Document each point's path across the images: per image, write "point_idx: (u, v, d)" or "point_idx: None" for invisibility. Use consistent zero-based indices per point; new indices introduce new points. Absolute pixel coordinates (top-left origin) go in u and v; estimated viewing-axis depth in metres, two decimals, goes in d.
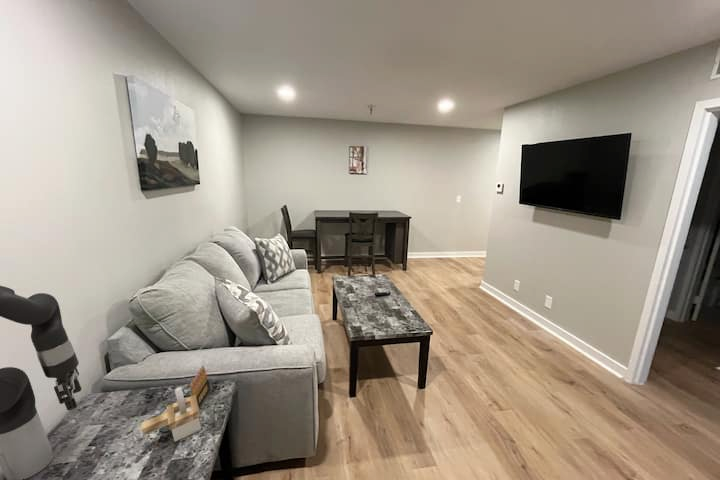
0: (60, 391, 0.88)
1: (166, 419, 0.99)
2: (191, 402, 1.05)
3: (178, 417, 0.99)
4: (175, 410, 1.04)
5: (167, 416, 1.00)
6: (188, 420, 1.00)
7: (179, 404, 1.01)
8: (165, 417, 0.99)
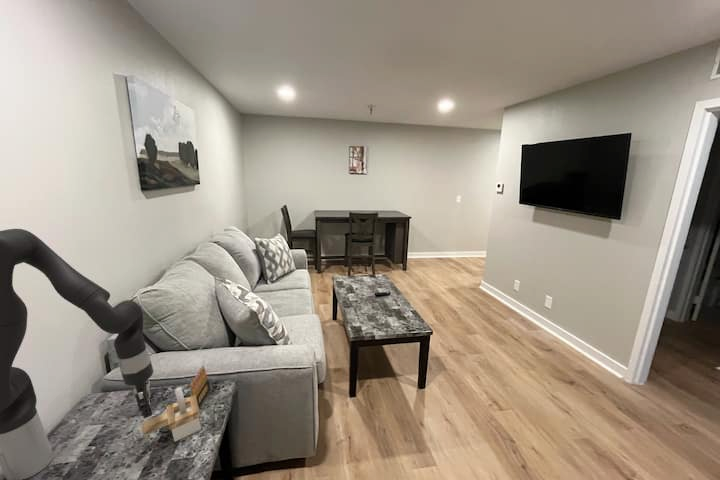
0: (140, 399, 0.88)
1: (166, 419, 0.99)
2: (191, 402, 1.05)
3: (178, 417, 0.99)
4: (175, 410, 1.04)
5: (167, 416, 1.00)
6: (188, 420, 1.00)
7: (179, 404, 1.01)
8: (165, 417, 0.99)
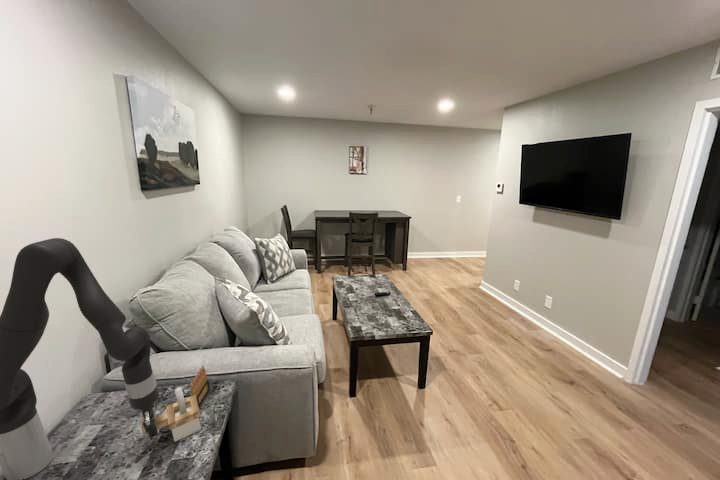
0: (148, 425, 0.92)
1: (166, 419, 0.99)
2: (191, 402, 1.05)
3: (178, 417, 0.99)
4: (175, 410, 1.04)
5: (167, 416, 1.00)
6: (188, 420, 1.00)
7: (179, 404, 1.01)
8: (165, 417, 0.99)
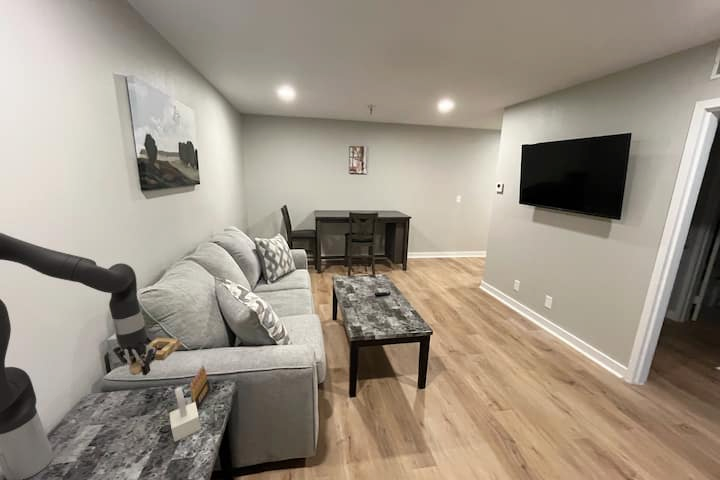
0: (152, 353, 0.95)
1: None
2: (162, 340, 1.09)
3: (165, 348, 1.04)
4: None
5: None
6: (174, 348, 1.07)
7: (179, 404, 1.01)
8: None
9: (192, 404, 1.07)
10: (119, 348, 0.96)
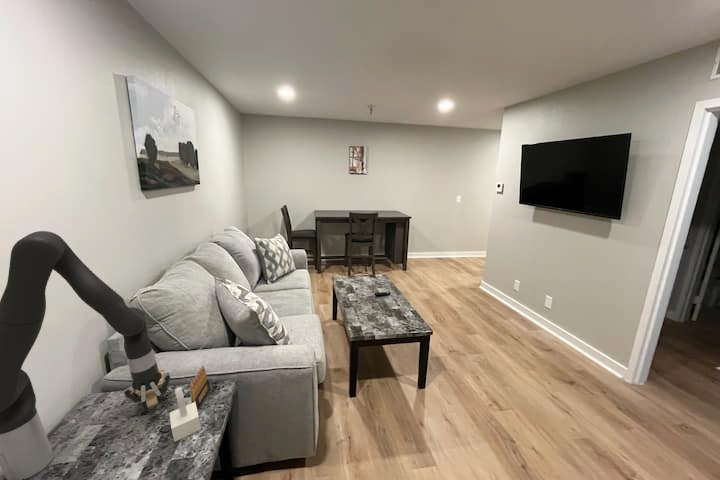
0: None
1: None
2: None
3: (161, 378, 1.14)
4: None
5: None
6: None
7: (179, 404, 1.01)
8: None
9: (192, 404, 1.07)
10: (130, 390, 1.02)
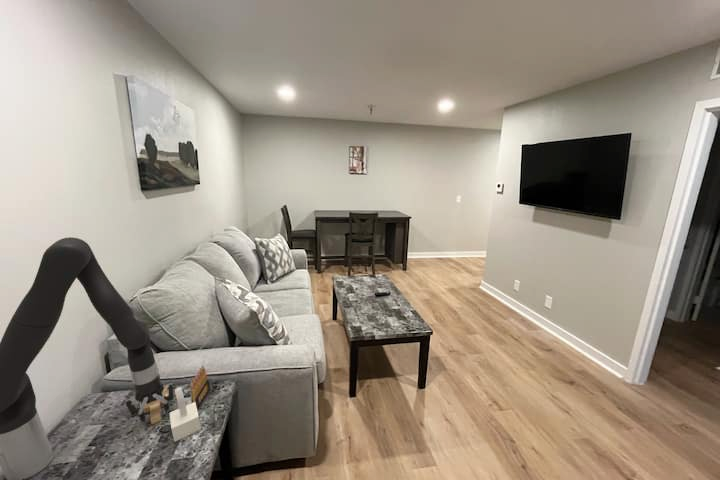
0: None
1: (159, 404, 1.12)
2: None
3: None
4: None
5: (156, 403, 1.12)
6: (168, 394, 1.19)
7: (179, 404, 1.01)
8: (156, 404, 1.12)
9: (192, 404, 1.07)
10: (131, 400, 1.03)
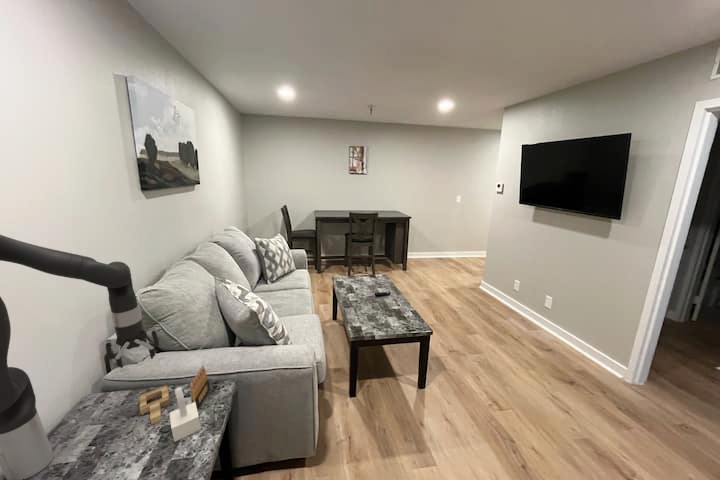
0: None
1: (159, 404, 1.12)
2: (150, 393, 1.17)
3: (164, 395, 1.16)
4: None
5: (156, 403, 1.12)
6: (168, 394, 1.19)
7: (179, 404, 1.01)
8: (156, 404, 1.12)
9: (192, 404, 1.07)
10: (112, 343, 0.99)
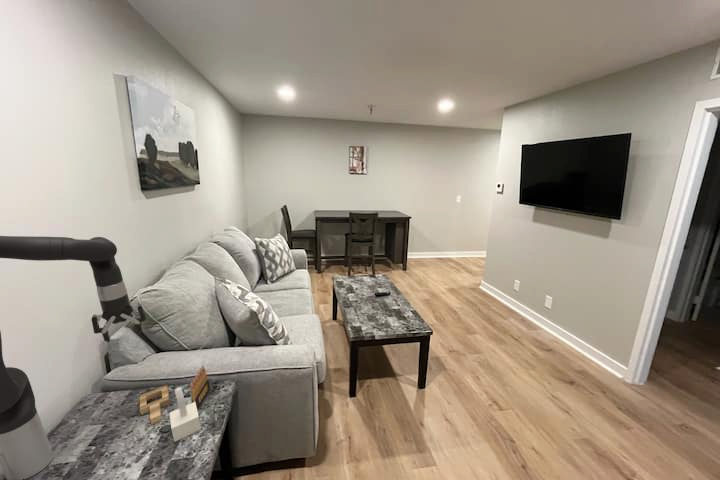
0: None
1: (159, 404, 1.12)
2: (150, 393, 1.17)
3: (164, 395, 1.16)
4: None
5: (156, 403, 1.12)
6: (168, 394, 1.19)
7: (179, 404, 1.01)
8: (156, 404, 1.12)
9: (192, 404, 1.07)
10: (97, 317, 1.01)
